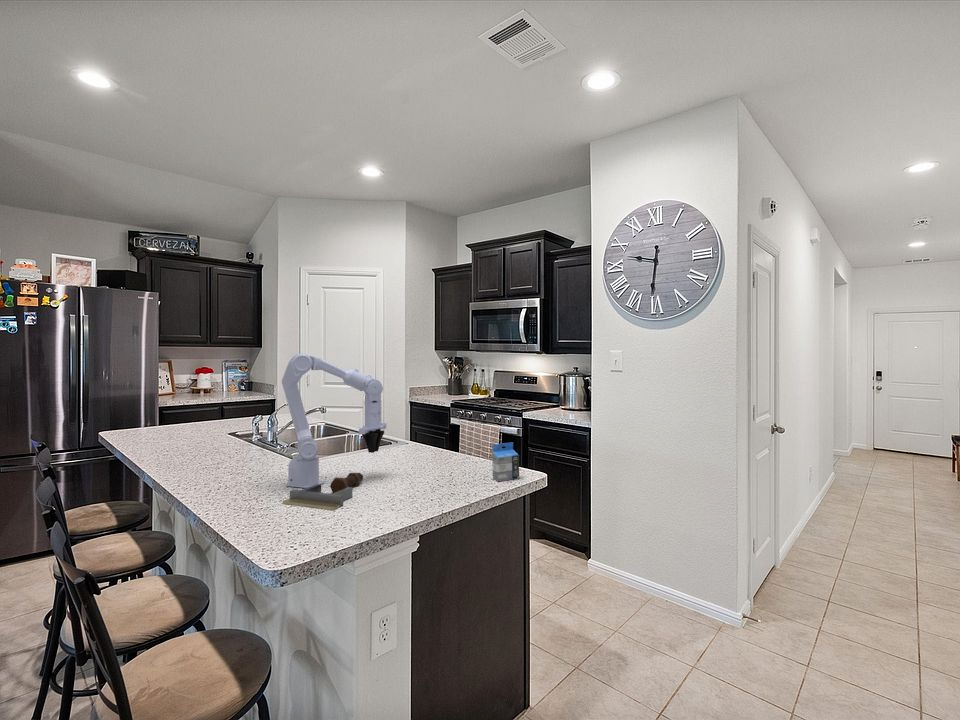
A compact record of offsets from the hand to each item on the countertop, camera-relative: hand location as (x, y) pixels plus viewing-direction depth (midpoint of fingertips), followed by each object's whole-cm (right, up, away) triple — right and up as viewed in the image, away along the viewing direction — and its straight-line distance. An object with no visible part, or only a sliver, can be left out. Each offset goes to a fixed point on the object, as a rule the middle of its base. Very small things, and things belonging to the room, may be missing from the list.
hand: (373, 451), depth 177 cm
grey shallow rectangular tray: (-10, -10, -26) cm, 30 cm away
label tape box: (+46, -10, -1) cm, 47 cm away
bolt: (-5, -10, -12) cm, 17 cm away
